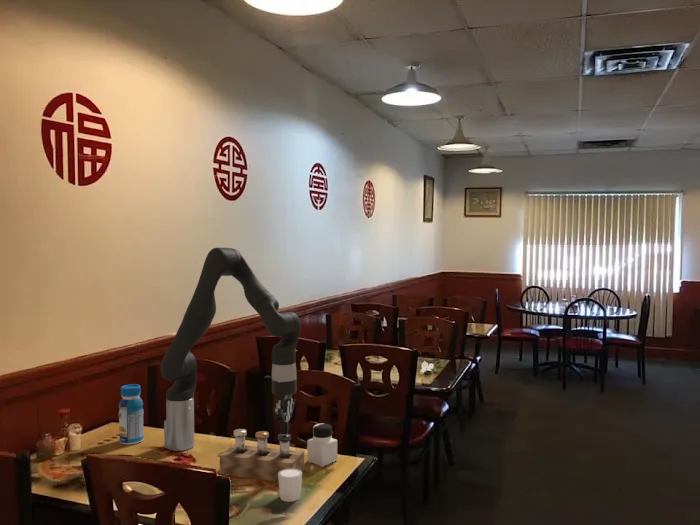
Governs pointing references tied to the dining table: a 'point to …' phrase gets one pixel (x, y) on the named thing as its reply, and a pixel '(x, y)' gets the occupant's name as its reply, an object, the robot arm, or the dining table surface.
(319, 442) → the medicine bottle
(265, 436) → the copper-capped glass cylinder
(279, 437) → the grey capped glass jar
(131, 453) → the dining table surface
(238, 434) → the cream plunger
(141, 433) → the beverage bottle
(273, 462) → the walnut block
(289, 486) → the white cup
